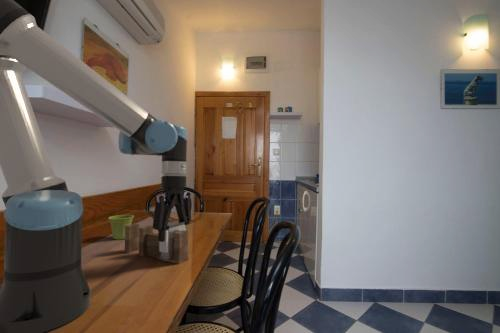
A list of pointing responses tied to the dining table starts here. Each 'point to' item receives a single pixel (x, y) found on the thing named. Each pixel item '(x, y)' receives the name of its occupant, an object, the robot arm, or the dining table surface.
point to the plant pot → (120, 225)
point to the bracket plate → (172, 238)
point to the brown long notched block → (154, 243)
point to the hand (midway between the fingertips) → (172, 247)
